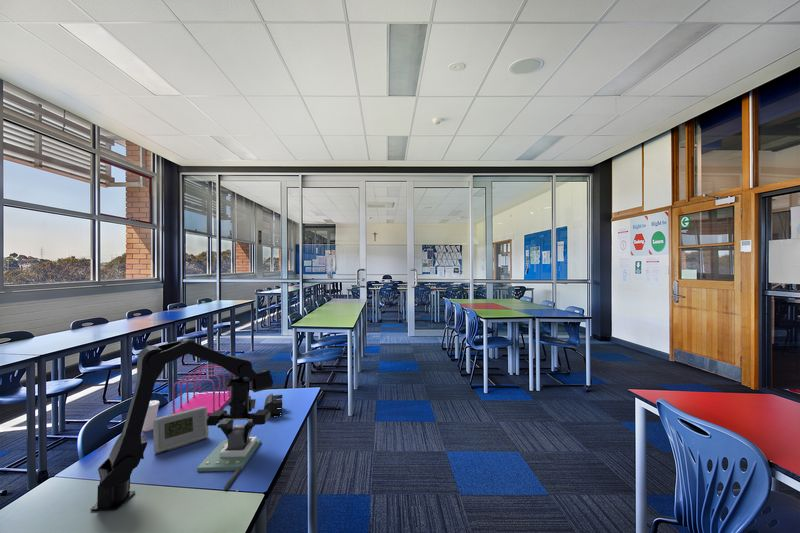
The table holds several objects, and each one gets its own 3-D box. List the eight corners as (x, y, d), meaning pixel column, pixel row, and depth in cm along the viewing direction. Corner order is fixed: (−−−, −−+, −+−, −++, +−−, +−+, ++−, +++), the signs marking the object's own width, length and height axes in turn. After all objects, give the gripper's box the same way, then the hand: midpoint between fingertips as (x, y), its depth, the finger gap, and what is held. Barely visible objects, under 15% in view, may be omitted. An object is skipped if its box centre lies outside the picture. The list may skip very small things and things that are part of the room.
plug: (241, 451, 104) (242, 432, 104) (227, 451, 104) (228, 433, 104) (249, 441, 110) (249, 424, 110) (235, 442, 110) (236, 424, 110)
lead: (227, 490, 88) (227, 486, 88) (223, 490, 88) (223, 486, 88) (245, 464, 100) (245, 461, 100) (242, 464, 100) (242, 461, 100)
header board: (241, 470, 97) (241, 461, 97) (197, 471, 96) (197, 462, 96) (260, 442, 113) (260, 434, 113) (223, 443, 112) (223, 435, 112)
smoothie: (133, 431, 120) (134, 394, 120) (150, 423, 126) (151, 388, 126) (146, 434, 118) (147, 396, 119) (163, 425, 125) (164, 390, 125)
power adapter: (265, 409, 140) (265, 394, 141) (282, 407, 143) (282, 392, 143) (263, 419, 131) (263, 402, 131) (281, 417, 133) (281, 400, 133)
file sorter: (169, 419, 131) (170, 381, 131) (198, 395, 155) (199, 363, 156) (215, 416, 133) (216, 379, 134) (236, 394, 158) (237, 362, 158)
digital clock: (151, 456, 104) (151, 423, 104) (154, 443, 112) (155, 413, 112) (208, 442, 113) (209, 412, 113) (208, 431, 120) (208, 403, 121)
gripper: (275, 387, 116) (275, 430, 115) (223, 387, 115) (222, 431, 114) (264, 399, 105) (263, 447, 104) (206, 400, 103) (205, 448, 103)
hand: (238, 442), depth 107 cm, fingers closed on plug, 4 cm apart
